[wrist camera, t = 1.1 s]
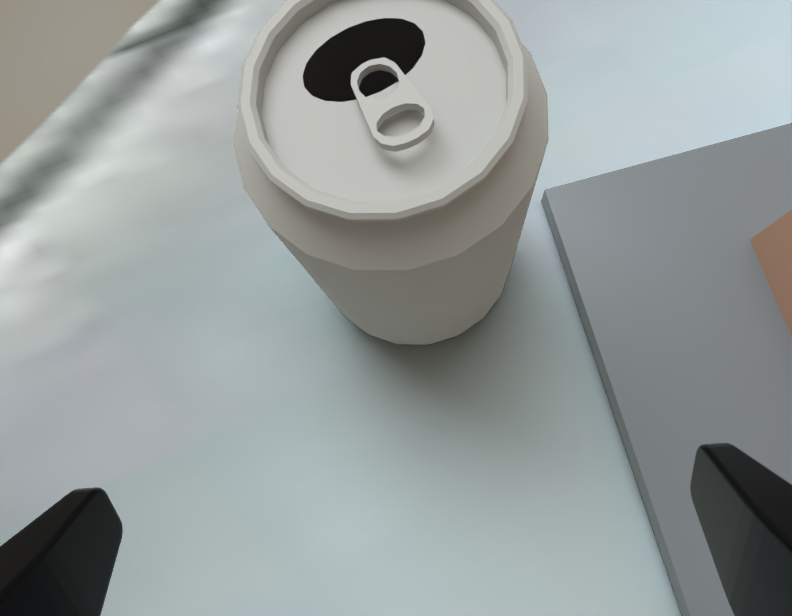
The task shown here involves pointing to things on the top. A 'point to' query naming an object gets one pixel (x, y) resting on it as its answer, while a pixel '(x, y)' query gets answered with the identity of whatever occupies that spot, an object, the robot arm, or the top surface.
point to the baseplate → (684, 324)
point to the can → (394, 154)
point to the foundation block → (777, 262)
